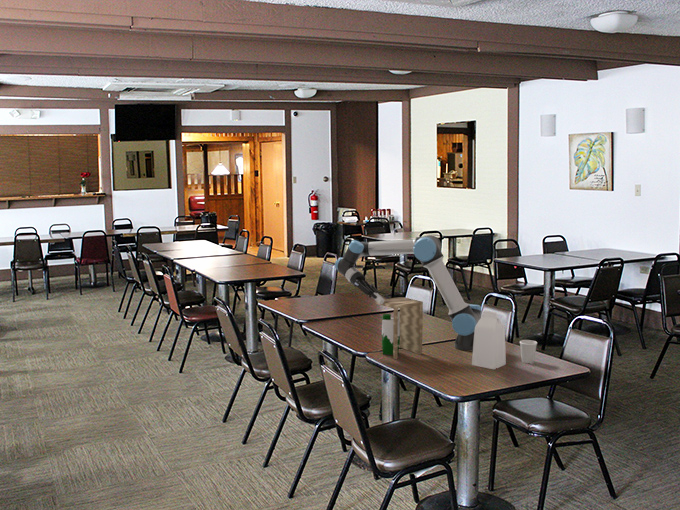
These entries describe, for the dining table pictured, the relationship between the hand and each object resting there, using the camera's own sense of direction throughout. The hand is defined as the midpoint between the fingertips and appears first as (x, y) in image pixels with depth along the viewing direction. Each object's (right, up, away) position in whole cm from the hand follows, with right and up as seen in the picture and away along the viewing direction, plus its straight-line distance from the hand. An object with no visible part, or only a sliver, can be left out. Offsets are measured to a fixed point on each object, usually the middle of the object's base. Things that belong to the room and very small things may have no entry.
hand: (382, 301), depth 350 cm
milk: (+51, -30, -12) cm, 60 cm away
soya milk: (+5, -27, +8) cm, 29 cm away
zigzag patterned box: (+9, -27, +9) cm, 30 cm away
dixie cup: (+71, -29, -8) cm, 77 cm away
